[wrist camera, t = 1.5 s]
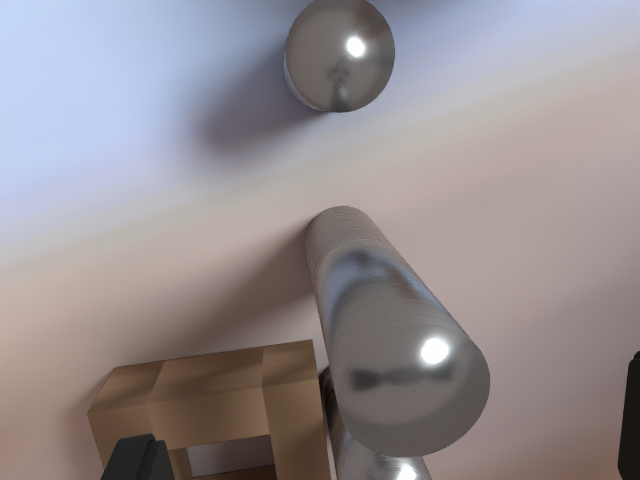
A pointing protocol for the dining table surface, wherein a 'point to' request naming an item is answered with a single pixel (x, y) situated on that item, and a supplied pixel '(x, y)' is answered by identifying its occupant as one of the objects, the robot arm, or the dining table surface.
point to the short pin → (338, 55)
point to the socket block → (221, 408)
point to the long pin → (390, 342)
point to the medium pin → (363, 450)
